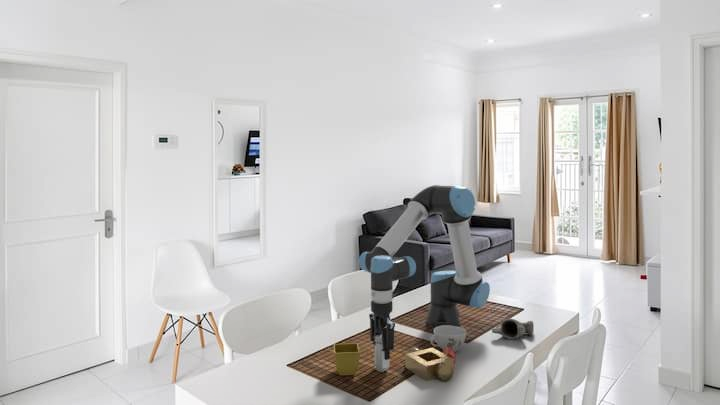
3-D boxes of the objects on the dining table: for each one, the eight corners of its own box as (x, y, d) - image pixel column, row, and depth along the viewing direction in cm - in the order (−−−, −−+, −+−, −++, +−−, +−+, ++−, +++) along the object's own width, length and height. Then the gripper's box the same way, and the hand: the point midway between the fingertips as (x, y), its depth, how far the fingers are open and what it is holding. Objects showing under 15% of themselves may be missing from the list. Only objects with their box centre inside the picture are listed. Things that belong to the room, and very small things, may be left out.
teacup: (454, 341, 208) (454, 322, 207) (473, 352, 196) (473, 332, 196) (422, 347, 202) (422, 328, 201) (439, 359, 190) (439, 338, 190)
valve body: (399, 363, 187) (399, 347, 186) (433, 355, 194) (433, 339, 194) (433, 385, 170) (433, 367, 169) (468, 374, 177) (469, 358, 177)
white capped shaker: (372, 368, 183) (372, 335, 182) (383, 365, 185) (383, 333, 184) (379, 373, 179) (379, 340, 178) (391, 370, 181) (391, 337, 180)
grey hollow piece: (504, 352, 218) (498, 344, 205) (494, 333, 223) (487, 324, 211) (540, 334, 215) (535, 325, 203) (528, 315, 220) (523, 306, 208)
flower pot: (333, 367, 184) (333, 343, 183) (358, 366, 184) (357, 342, 184) (334, 378, 175) (334, 353, 174) (360, 377, 176) (360, 352, 175)
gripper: (360, 296, 185) (360, 358, 188) (385, 308, 170) (386, 376, 173) (377, 293, 189) (378, 354, 191) (404, 305, 174) (404, 371, 176)
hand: (381, 364), depth 182 cm, fingers closed on white capped shaker, 4 cm apart
